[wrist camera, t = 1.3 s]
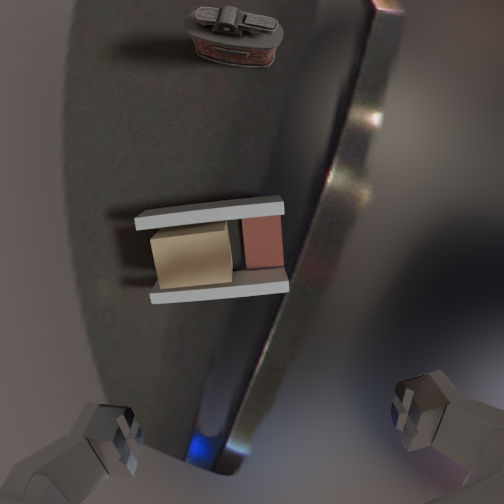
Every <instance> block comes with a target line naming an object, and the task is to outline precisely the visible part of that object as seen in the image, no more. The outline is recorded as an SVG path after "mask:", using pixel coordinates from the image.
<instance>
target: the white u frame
mask: <svg viewBox="0 0 504 504" xmlns="http://www.w3.org/2000/svg"><path fill="white" fill-rule="evenodd" d="M282 214H284V202H283V200H282V199H281V198H280V197H279V195H275V196H265V197H254V198H243V199H234V200H224V201H215V202H206V203H198V204H189V205H181V206H173V207H166V208H158V209H151V210H145V211H144V212H142V213H141V214H140V215H138V216H137V217H135V218H134V220H135V226H136V231H137V230H145V229H153V228H161V227H169V226H178V225H186V224H195V223H204V222H213V221H222V220H232V219H242V218H252V217H262V216H273V215H282ZM283 292H289V280H288V278H287V275H286V272H285V269H284V266H282V267H273V268H263V269H253V270H243V271H233V272H232V282H227V283H217V284H207V285H198V286H187V287H177V288H167V289H160V285H159V281H158V280H157V281H156V283H155V285H154V286H153V288H152V290H151V292H150V293H149V294H150V298H151V303H152V304H161V303H175V302H188V301H200V300H212V299H223V298H234V297H243V296H254V295H264V294H274V293H283Z"/></svg>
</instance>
